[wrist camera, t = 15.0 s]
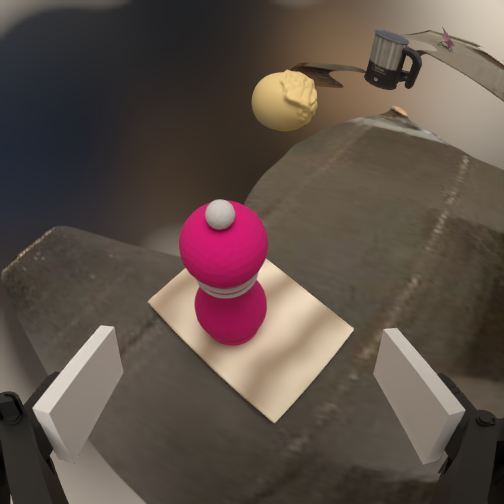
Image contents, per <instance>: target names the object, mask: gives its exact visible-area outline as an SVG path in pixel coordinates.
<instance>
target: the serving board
mask: <svg viewBox="0 0 504 504" xmlns="http://www.w3.org/2000/svg"><path fill="white" fill-rule="evenodd" d="M257 280H258V282H259V283H260V284H261V286H262V288H263V289H264V292H265V295H266V299H267V312H266V316H265V319H264V321H263V323H262V325H261V326H260V328H259V329H258V331H257V333H256V334H255V335H254V337H253V338H251V339H250V340H249V341H247V342H246V343H243V344H240V345H235V346H232V345H224V344H221V343H219V342H218V341H216V340H215V339H214V338H212V337H211V335H210V334H208V333H207V332H206V331H205V330H204V329H203V328H202V327H201V325H200V323H199V322H198V319H197V316H196V312H195V307H194V303H195V296H196V293H197V290H198V288H199V285H198V283H197V281H196V279H195V278H194V277H193V276H192V275H191V274H190V273H189V272H188V270H187V269H186V268H185V269H184V270H183V271H182V272H181V273H179V274H178V275H177V276H176V277H175V278H174V279H173V280H171V281H170V282H169V283H168V284H167V285H166V286H165V287H163V288H162V289H161V290H160V291H159V292H158V293H157V294H156V295H154V296H153V297H152V298H151V299H150V300H149V301H148V303H149V304H150V305H151V307H152V308H153V309H154V310H155V311H156V312H157V313H158V315H159V316H160V317H161V318H162V319H163V320H164V321H165V322H166V323H167V324H168V325H169V326H170V327H171V328H172V329H173V330H174V331H175V332H176V333H177V335H178V336H179V337H180V338H181V339H182V340H183V341H184V342H185V343H186V344H187V345H188V346H189V347H190V348H191V349H192V350H193V351H194V352H195V353H196V354H197V355H198V356H199V357H200V358H201V359H202V360H203V361H205V362H206V363H207V364H208V365H209V366H210V367H211V368H212V369H213V370H214V371H215V372H216V373H217V374H218V375H219V376H220V377H221V378H222V379H224V380H225V381H226V382H227V383H228V384H229V385H230V386H231V387H232V388H233V389H234V390H236V391H237V392H238V393H239V394H240V395H241V396H242V397H243V398H244V399H246V400H247V401H248V402H249V403H250V404H251V405H252V406H254V407H255V408H256V409H257V410H258V411H259V412H261V413H262V414H263V415H264V416H265V417H267V418H268V419H269V420H270V421H271V422H273V423H275V422H276V421H277V420H278V419H279V418H280V417H281V416H282V415H283V414H284V413H285V412H286V411H287V409H288V408H289V407H290V406H291V405H292V404H293V403H294V402H295V401H296V400H297V398H298V397H299V396H300V395H301V394H302V393H303V392H304V390H305V389H306V388H307V387H308V386H309V385H310V384H311V382H312V381H313V380H314V379H315V378H316V377H317V375H318V374H319V373H320V372H321V371H322V369H323V368H324V367H325V366H326V364H327V363H328V362H329V361H330V360H331V358H332V357H333V356H334V355H335V353H336V352H337V351H338V350H339V348H340V347H341V346H342V344H343V343H344V342H345V341H346V339H347V338H348V337H349V335H350V334H351V333H352V331H353V330H354V329H353V328H352V327H351V326H350V325H348V324H347V323H346V322H345V321H343V320H342V319H341V318H340V317H338V316H337V315H336V314H335V313H333V312H332V311H331V310H330V309H328V308H327V307H326V306H325V305H323V304H322V303H321V302H320V301H318V300H317V299H316V298H315V297H313V296H312V295H311V294H310V293H308V292H307V291H306V290H305V289H303V288H302V287H301V286H300V285H298V284H297V283H296V282H295V281H293V280H292V279H291V278H290V277H288V276H287V275H286V274H285V273H283V272H282V271H281V270H280V269H278V268H277V267H276V266H275V265H273V264H272V263H271V262H270V261H268V260H267V259H265V262H264V264H263V265H262V267H261V269H260V270H259V273H258V277H257Z"/></svg>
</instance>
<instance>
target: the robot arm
mask: <svg viewBox="0 0 504 504" xmlns="http://www.w3.org/2000/svg"><path fill="white" fill-rule="evenodd" d="M122 374H123V368H122V364H121V359H120V354H119V350H118V345H117V339H116V334H115V328H114V327H110V326H100V327H99V328H98V329H97V330H96V332H95V333H94V334H93V335H92V336H91V337H90V338H89V340H88V341H87V342H86V343H85V344H84V345H83V347H82V348H81V349H80V350H79V351H78V353H77V354H76V355H75V356H74V357H73V358H72V360H71V361H70V362H69V363H68V364H67V366H66V367H65V368H64V369H63V371H62V372H61V373H60V372H54V373H53V374H51V375H49V376H48V377H47V378H46V379H45V380H44V381H43V382H42V383H41V385H40V386H39V387H38V388H37V391H35V392H34V393H33V394H32V396H31V397H30V398H29V399H28V401H27V402H26V403H25V404H24V405H23V404H22V402H21V400H20V398H19V396H18V395H17V394H16V393H14V392H10V391H9V392H2V393H0V504H10V495H11V496H12V501H13V504H69V503H68V501H67V498H66V496H65V493H64V491H63V489H62V486H61V483H60V481H59V478H58V475H57V472H56V470H55V467H54V464H53V461H52V459H51V458H50V454H51V452H52V450H54V452H55V453H56V455H57V457H58V458H59V459H61V460H64V461H67V462H70V463H75V462H76V460H77V458H78V456H79V454H80V452H81V450H82V448H83V446H84V444H85V442H86V440H87V439H88V437H89V435H90V433H91V431H92V429H93V427H94V425H95V423H96V421H97V420H98V418H99V416H100V414H101V412H102V410H103V408H104V407H105V405H106V403H107V401H108V399H109V397H110V396H111V394H112V392H113V390H114V388H115V387H116V385H117V383H118V381H119V380H120V378H121V376H122ZM373 375H374V376H375V378H376V380H377V382H378V383H379V385H380V387H381V389H382V390H383V392H384V394H385V396H386V397H387V399H388V401H389V403H390V405H391V406H392V408H393V410H394V412H395V414H396V415H397V417H398V419H399V421H400V423H401V424H402V426H403V428H404V430H405V432H406V434H407V435H408V437H409V439H410V441H411V443H412V445H413V447H414V449H415V450H416V452H417V454H418V456H419V458H420V460H421V462H422V464H423V465H424V464H427V463H430V462H434V461H437V460H439V458H440V457H441V455H442V453H443V452H444V450H445V451H446V453H447V455H448V457H447V459H446V461H445V462H444V464H443V465H442V467H441V468H440V470H439V471H438V473H441V475H440V478H439V481H438V483H437V486H436V489H435V491H434V494H433V497H432V499H431V502H430V504H486V502H487V501H488V504H504V418H501V419H497V418H496V417H495V415H493V414H492V413H491V412H488V411H485V410H478V411H477V410H476V408H475V407H474V406H473V405H472V404H471V402H470V401H469V400H468V399H467V398H466V396H465V395H464V394H463V393H461V391H460V389H459V388H458V387H456V385H455V384H454V382H453V381H452V380H451V379H450V378H448V377H447V376H445V375H443V374H442V373H441V374H436V373H435V372H434V371H433V370H432V368H431V367H430V366H429V365H428V364H427V362H426V361H425V360H424V359H423V358H422V357H421V355H420V354H419V353H418V352H417V351H416V350H415V348H414V347H413V346H412V345H411V344H410V343H409V341H408V340H407V339H406V338H405V337H404V336H403V335H402V333H401V332H400V331H399V330H398V329H397V328H392V329H383V334H382V339H381V343H380V348H379V353H378V357H377V361H376V365H375V369H374V374H373ZM441 471H442V472H441Z"/></svg>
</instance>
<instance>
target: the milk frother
mask: <svg viewBox="0 0 504 504" xmlns="http://www.w3.org/2000/svg"><path fill="white" fill-rule="evenodd" d="M374 32H375V38H374V42H373V46H372V51H371V55H370V60H369V64H368V67H367V71H366V74H365V76H364V78H365V80H366V81H367V82H369V83H370V84H372V85H374V86H376V87H379V88H382V89H386V90H393V89H395V88H396V84H397V83H398V82H402V81H406V82H405V87H406V88H407V89H410V88H411V87H412V86H413V85H414V82H415V80H416V78H417V75H418V73H419V71H420V68H421V66H422V60H421V57H420V55H419V54H418V53H417V52H416V51H415V50H413V49H411V48H409V47H407V45H408V44H409V41H408V40H407V39H406V38H404V37H402V36H400V35H398V34H395V33H393V32H390V31H386V30H379V29H378V30H375V31H374ZM406 55H407V56H409V57H410V58H411V59H412V61H413V64H412V67H411V70H410V72H408V71H404V70H402V67H403V64H404V61H405V57H406ZM406 76H407V77H406Z"/></svg>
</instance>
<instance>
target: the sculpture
mask: <svg viewBox="0 0 504 504" xmlns="http://www.w3.org/2000/svg"><path fill="white" fill-rule="evenodd" d="M314 88H315V87H314V81H313V80H312V79H310V78H308V77H307V76H306V75H304V74H303V73H300V72H292V71H290V70H286V71H285V72H283V73H274V74H271V75H268V76H266V77H264V78H263V79H262V80H261V81H260V82H259V83H258V84H257V86H256V88H255V90H254V92H253V96H252V108H253V112H254V114H255V117H256V118H257V120H258V121H259V122H260V123H261V124H262V125H264V126H266V127H268V128H270V129H273V130H276V131H281V132H291V131H295V130H298V129H300V128H301V127H303V126H305V125H307V124H308V123H309V122H310V121H311V119H312V116H313V115H315V109H316V108H317V91H316V90H315V89H314Z"/></svg>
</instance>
